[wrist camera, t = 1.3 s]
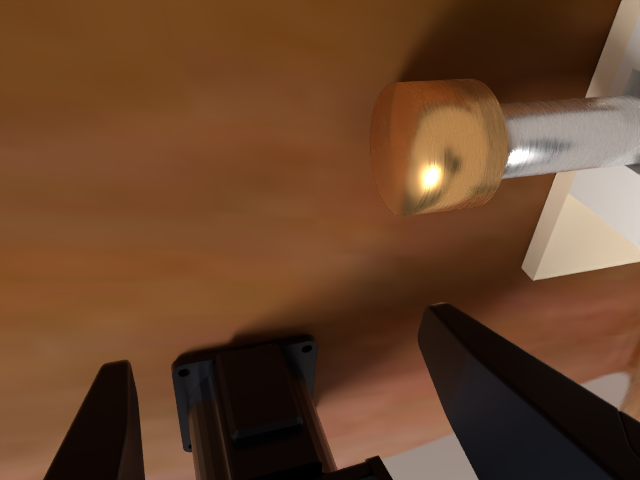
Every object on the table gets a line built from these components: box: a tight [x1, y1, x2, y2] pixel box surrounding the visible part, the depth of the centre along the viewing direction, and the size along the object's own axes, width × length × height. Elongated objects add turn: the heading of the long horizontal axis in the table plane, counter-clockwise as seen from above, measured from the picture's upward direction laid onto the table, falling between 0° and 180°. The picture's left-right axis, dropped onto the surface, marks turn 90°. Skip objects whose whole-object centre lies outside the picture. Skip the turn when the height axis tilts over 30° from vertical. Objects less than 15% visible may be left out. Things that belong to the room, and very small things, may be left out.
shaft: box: [370, 79, 640, 216], centre depth 18 cm, size 4×14×4 cm, turn 86°
